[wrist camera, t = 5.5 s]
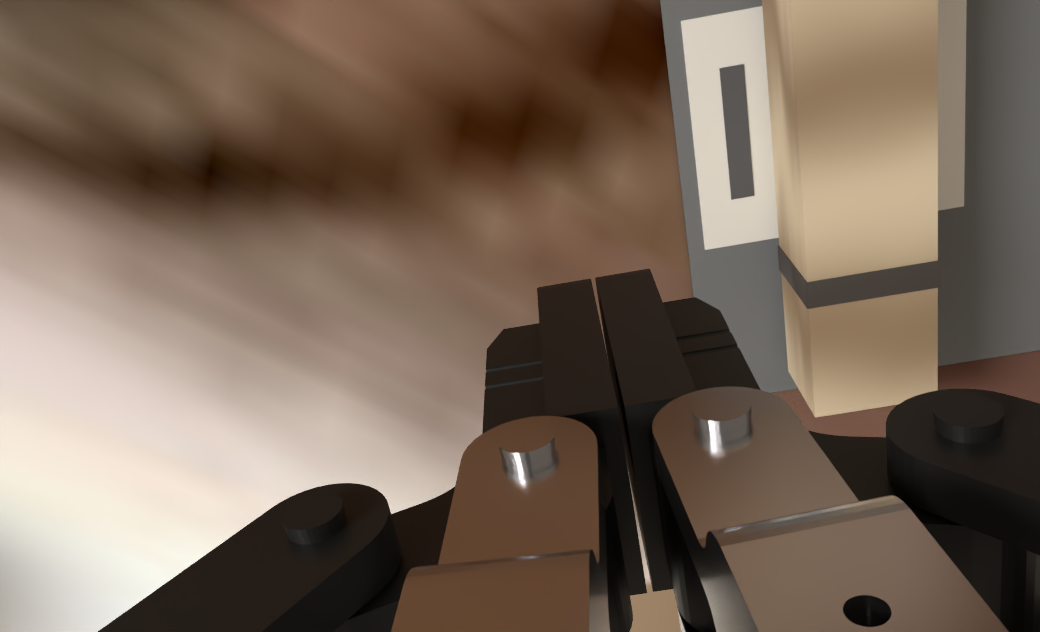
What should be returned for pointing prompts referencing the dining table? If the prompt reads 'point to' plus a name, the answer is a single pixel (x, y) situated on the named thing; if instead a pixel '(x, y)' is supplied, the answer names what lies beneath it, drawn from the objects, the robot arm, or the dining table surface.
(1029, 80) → the label mat
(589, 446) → the robot arm
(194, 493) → the dining table surface
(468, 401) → the dining table surface
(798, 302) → the swing arm
